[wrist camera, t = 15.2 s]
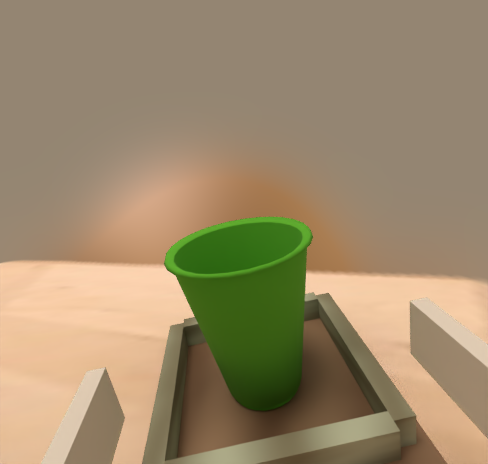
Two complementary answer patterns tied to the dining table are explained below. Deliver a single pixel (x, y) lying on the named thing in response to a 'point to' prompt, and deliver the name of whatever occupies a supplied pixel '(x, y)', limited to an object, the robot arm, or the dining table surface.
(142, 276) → the dining table surface
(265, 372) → the cup
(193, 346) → the jig cradle
